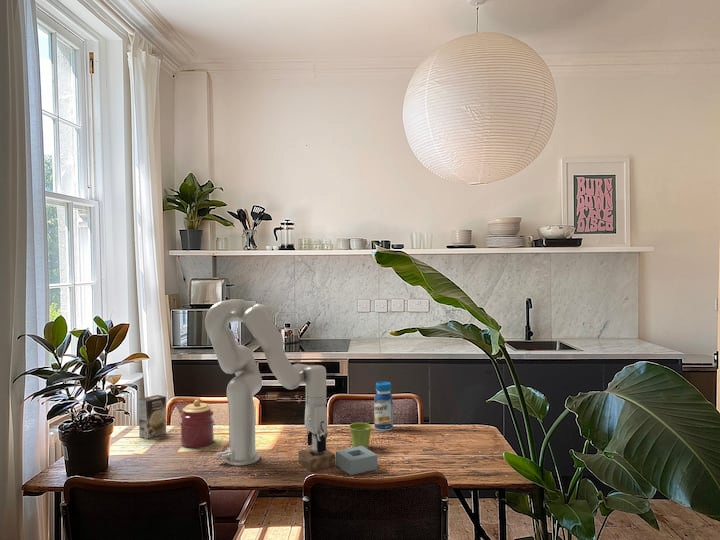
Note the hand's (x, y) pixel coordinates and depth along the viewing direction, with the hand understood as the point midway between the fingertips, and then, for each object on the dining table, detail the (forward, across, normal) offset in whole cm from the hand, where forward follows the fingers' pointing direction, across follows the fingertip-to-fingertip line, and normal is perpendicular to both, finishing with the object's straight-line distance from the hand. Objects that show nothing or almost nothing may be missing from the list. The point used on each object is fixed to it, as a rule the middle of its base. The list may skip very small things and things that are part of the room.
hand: (316, 447), depth 198 cm
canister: (+6, -46, -32) cm, 56 cm away
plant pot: (+6, -6, +22) cm, 24 cm away
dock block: (+6, +10, +11) cm, 16 cm away
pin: (+6, 0, 0) cm, 6 cm away
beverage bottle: (+6, -22, +43) cm, 49 cm away
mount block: (+6, 0, 0) cm, 6 cm away
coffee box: (+6, -66, -46) cm, 81 cm away
